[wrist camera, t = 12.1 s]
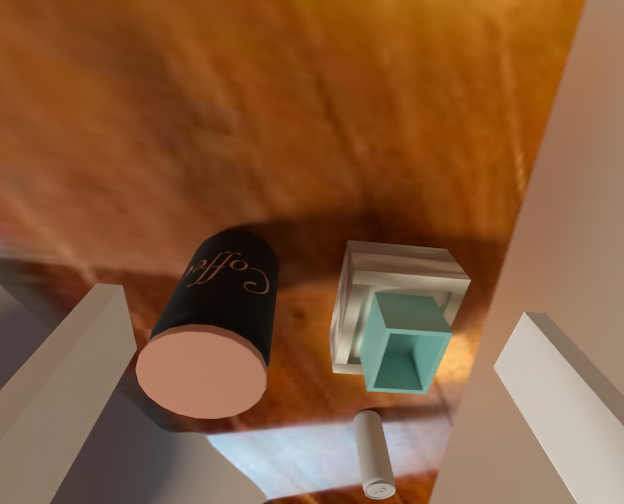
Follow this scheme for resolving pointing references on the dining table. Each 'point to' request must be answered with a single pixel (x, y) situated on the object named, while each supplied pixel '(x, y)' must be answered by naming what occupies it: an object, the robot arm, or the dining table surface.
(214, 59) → the dining table surface
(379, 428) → the beverage can
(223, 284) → the coffee jar
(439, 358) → the teal crate
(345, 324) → the beige crate
